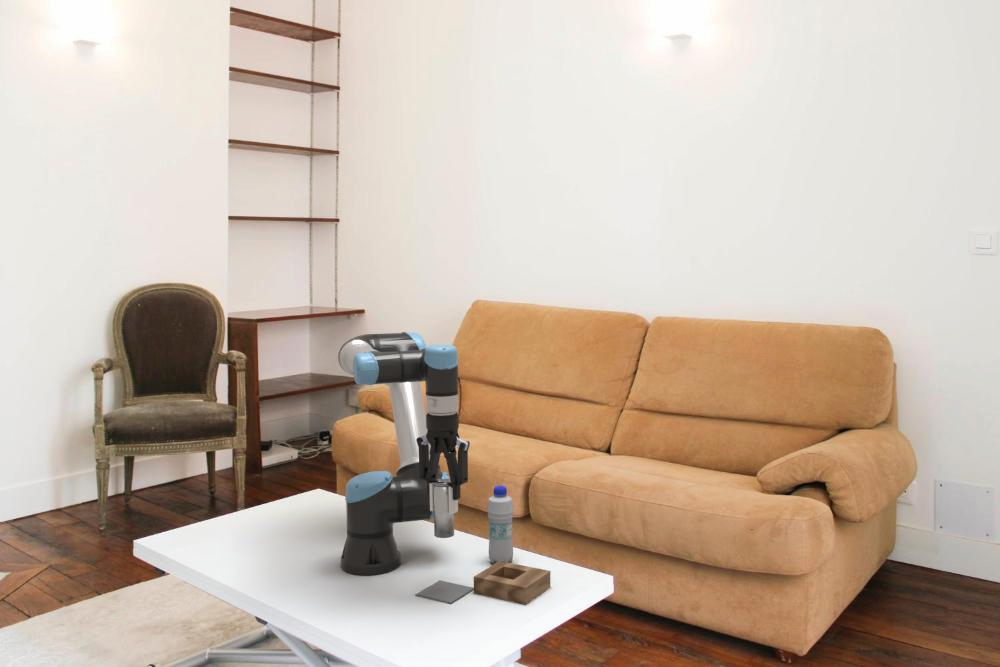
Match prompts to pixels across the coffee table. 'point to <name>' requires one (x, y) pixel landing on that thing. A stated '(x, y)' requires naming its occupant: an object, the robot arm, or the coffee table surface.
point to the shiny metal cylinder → (442, 509)
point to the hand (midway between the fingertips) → (444, 510)
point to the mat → (445, 592)
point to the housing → (512, 582)
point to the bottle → (500, 526)
